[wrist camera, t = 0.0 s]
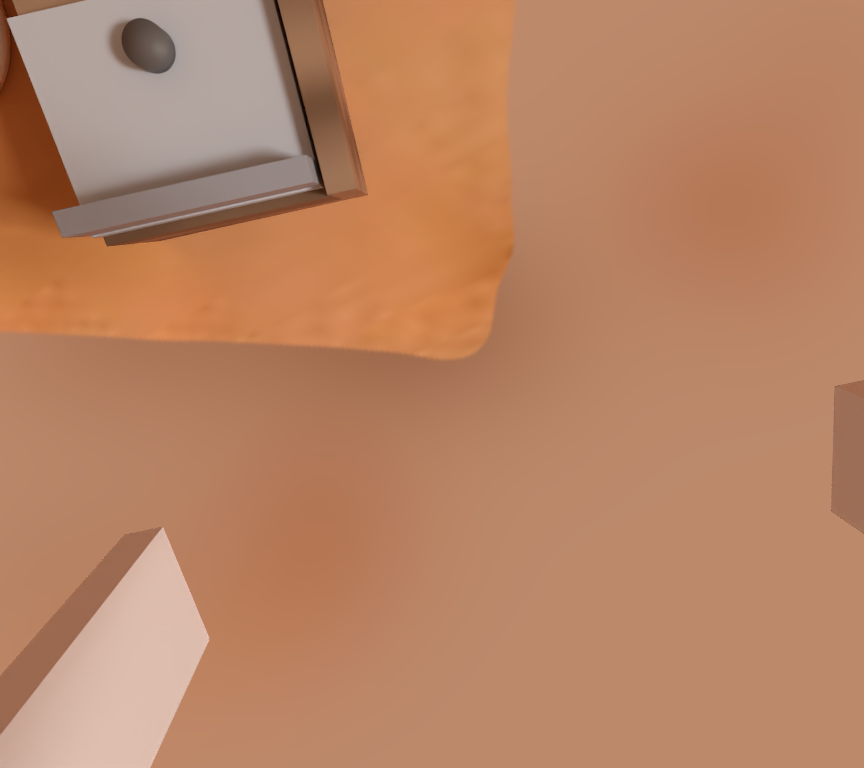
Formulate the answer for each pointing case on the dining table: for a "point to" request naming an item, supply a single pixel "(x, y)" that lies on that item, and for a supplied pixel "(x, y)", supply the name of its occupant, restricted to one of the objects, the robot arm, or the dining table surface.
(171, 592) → the robot arm
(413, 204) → the dining table surface
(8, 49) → the dish
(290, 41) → the wooden frame
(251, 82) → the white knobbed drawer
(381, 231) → the dining table surface
